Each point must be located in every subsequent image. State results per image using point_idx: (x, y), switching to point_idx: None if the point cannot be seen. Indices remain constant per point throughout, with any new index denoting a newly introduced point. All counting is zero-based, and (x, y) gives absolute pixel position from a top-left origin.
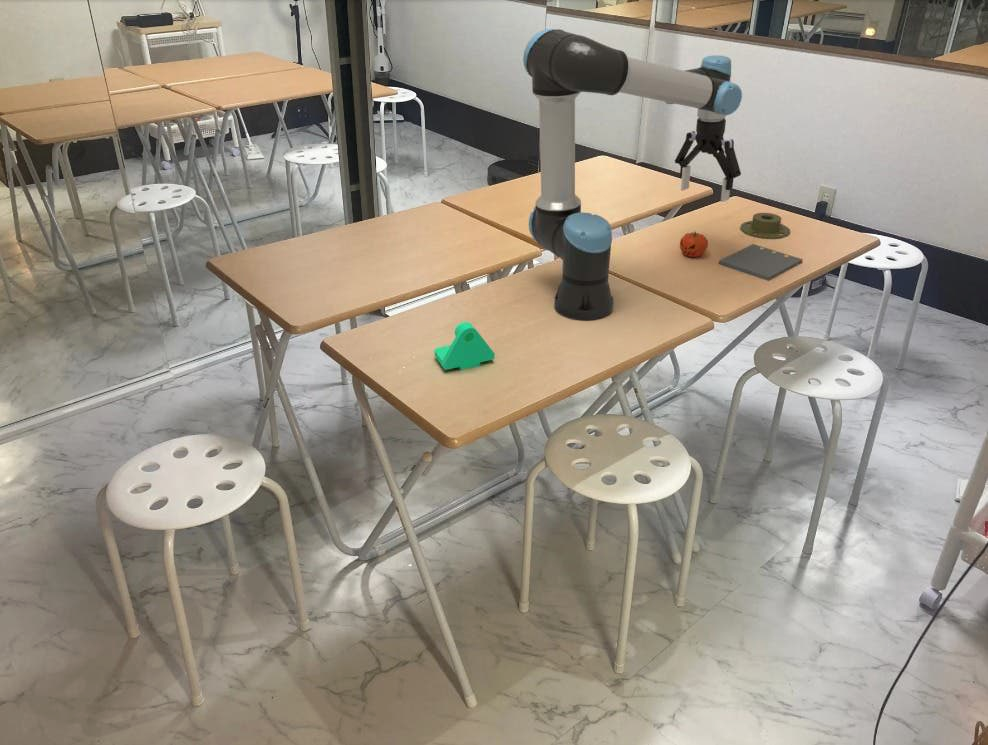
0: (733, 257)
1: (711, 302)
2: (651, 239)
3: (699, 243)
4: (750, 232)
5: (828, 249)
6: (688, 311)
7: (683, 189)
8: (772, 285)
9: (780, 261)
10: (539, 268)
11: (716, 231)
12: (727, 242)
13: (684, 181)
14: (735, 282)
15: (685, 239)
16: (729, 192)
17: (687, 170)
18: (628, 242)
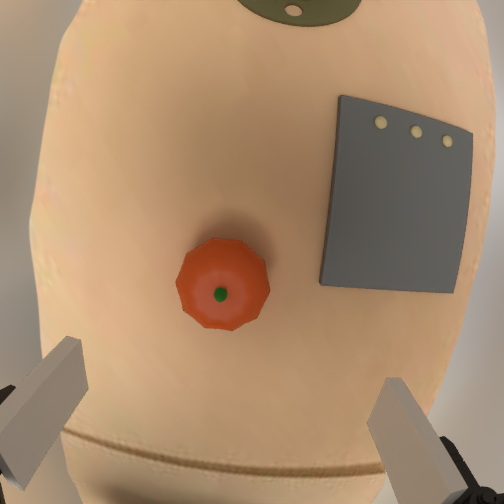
0: (345, 236)
1: None
2: (76, 247)
3: (257, 315)
4: (279, 10)
5: (462, 30)
6: (352, 480)
7: (85, 390)
8: (458, 307)
9: (447, 179)
10: (73, 476)
11: (186, 53)
12: (259, 107)
13: (63, 418)
14: (393, 351)
15: (206, 326)
16: (417, 405)
17: (23, 451)
18: (55, 305)
